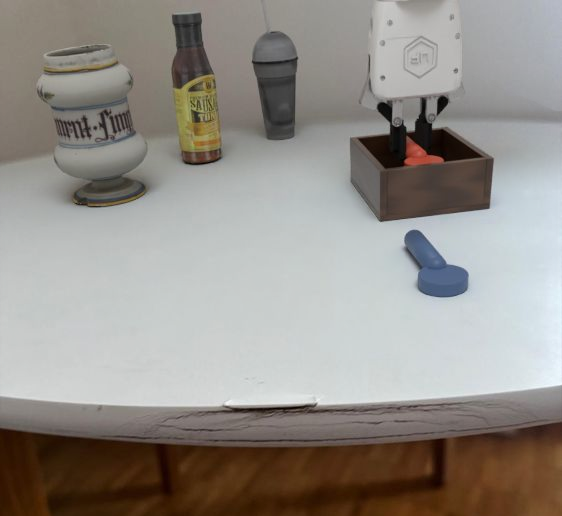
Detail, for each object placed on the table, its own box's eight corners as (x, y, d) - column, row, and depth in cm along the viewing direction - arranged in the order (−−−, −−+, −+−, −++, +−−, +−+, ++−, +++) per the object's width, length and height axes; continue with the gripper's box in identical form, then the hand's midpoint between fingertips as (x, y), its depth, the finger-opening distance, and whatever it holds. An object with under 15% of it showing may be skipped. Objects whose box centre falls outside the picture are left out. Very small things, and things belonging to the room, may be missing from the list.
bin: (444, 170, 91) (447, 126, 88) (489, 208, 78) (494, 158, 75) (350, 181, 90) (349, 137, 87) (380, 221, 77) (379, 171, 74)
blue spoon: (390, 248, 71) (390, 229, 69) (432, 243, 71) (432, 224, 70) (425, 299, 60) (426, 278, 59) (475, 293, 61) (476, 272, 59)
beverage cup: (294, 142, 110) (285, -1, 99) (252, 141, 112) (238, 2, 101) (308, 130, 115) (300, -6, 105) (267, 130, 118) (256, -3, 107)
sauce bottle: (201, 167, 101) (180, 15, 91) (173, 162, 105) (150, 15, 95) (233, 156, 105) (216, 9, 95) (205, 151, 109) (186, 9, 99)
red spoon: (382, 150, 87) (382, 134, 86) (416, 147, 88) (417, 131, 87) (410, 178, 77) (410, 160, 76) (448, 174, 78) (449, 156, 76)
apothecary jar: (45, 205, 92) (5, 57, 82) (104, 178, 100) (75, 42, 91) (116, 213, 86) (83, 57, 77) (172, 184, 95) (148, 40, 86)
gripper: (348, -9, 70) (352, 172, 80) (500, -23, 71) (485, 158, 81) (334, -13, 77) (339, 155, 86) (474, -26, 78) (463, 142, 87)
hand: (410, 155), depth 84 cm, fingers closed on red spoon, 2 cm apart
